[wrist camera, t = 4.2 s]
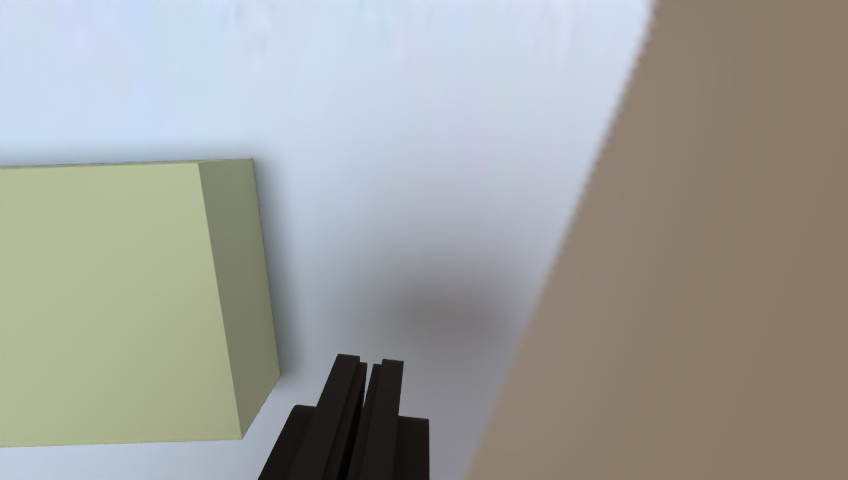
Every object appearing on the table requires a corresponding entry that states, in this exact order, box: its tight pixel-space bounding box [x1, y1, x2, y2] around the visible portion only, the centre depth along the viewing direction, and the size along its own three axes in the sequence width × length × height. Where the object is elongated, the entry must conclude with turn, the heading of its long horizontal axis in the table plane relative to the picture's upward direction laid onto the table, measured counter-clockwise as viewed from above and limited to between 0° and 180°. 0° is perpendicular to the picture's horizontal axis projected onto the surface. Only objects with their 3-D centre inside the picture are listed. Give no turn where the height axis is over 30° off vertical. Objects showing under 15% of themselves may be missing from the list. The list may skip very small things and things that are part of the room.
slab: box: [0, 158, 280, 448], centre depth 16 cm, size 10×12×4 cm
